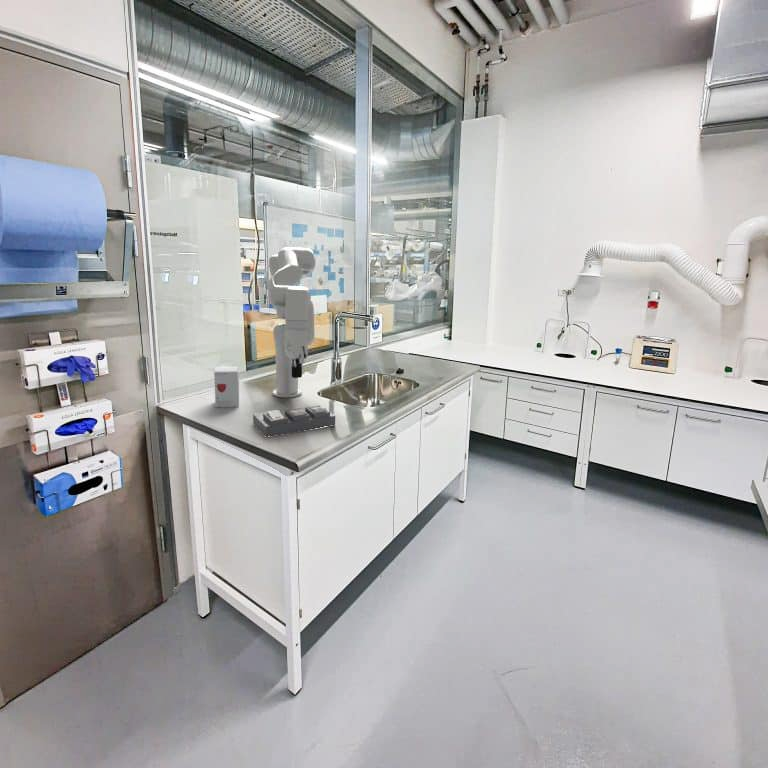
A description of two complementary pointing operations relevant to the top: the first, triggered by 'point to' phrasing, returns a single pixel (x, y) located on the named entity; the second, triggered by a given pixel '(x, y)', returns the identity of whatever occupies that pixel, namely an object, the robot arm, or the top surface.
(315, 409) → the rocker
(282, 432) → the rocker switch panel
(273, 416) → the rocker
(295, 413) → the middle rocker
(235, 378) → the supplement box
